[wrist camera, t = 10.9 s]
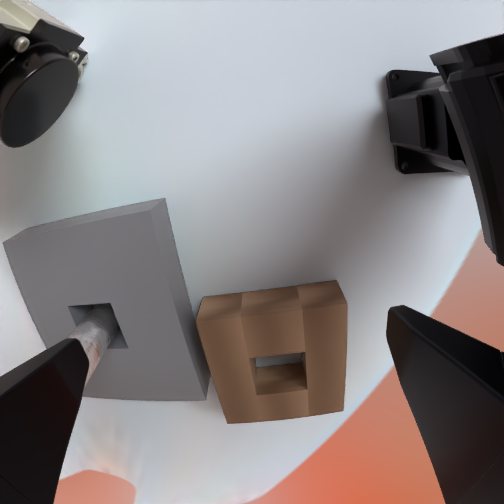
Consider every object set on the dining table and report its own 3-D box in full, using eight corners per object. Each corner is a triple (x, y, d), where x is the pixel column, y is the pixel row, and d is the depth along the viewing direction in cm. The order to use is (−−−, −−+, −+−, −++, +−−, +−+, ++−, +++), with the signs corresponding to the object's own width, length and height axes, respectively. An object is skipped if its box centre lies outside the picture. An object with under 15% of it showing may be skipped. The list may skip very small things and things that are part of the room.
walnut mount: (336, 280, 21) (347, 302, 18) (336, 384, 24) (343, 410, 22) (203, 296, 21) (195, 321, 19) (229, 397, 25) (227, 423, 22)
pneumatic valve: (95, 138, 17) (-54, 169, 6) (5, 59, 15) (-116, 53, 4) (148, 67, 16) (19, 12, 5) (46, -3, 13) (-67, -43, 2)
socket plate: (165, 197, 19) (149, 210, 16) (210, 373, 24) (206, 400, 21) (26, 228, 20) (2, 242, 17) (86, 373, 25) (73, 395, 22)
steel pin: (122, 290, 21) (69, 367, 14) (132, 318, 22) (88, 399, 14) (95, 292, 22) (38, 364, 14) (106, 320, 22) (57, 396, 15)
